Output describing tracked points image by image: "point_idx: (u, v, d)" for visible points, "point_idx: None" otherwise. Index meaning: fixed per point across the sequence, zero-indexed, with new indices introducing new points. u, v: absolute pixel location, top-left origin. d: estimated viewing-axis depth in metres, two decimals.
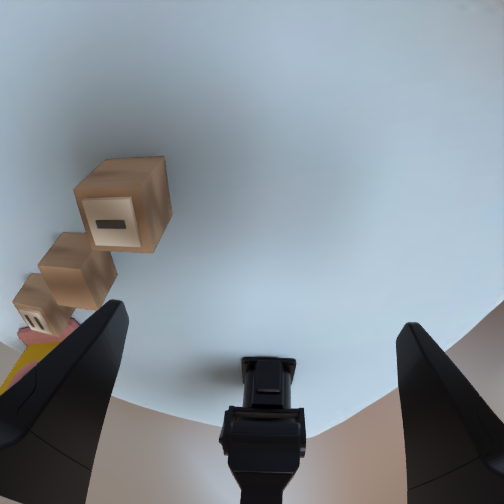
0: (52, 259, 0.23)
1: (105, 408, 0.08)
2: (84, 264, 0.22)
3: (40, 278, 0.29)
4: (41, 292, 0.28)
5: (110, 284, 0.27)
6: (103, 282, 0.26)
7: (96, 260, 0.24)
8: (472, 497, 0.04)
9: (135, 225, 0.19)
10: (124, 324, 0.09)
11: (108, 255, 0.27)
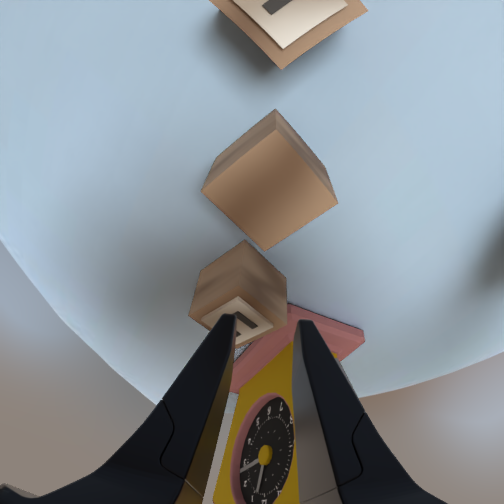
0: (221, 168, 0.16)
1: (219, 430, 0.08)
2: (278, 127, 0.14)
3: (216, 264, 0.24)
4: (226, 273, 0.22)
5: (326, 174, 0.18)
6: (317, 166, 0.17)
7: (290, 133, 0.16)
8: None
9: None
10: (235, 339, 0.09)
11: (298, 136, 0.18)
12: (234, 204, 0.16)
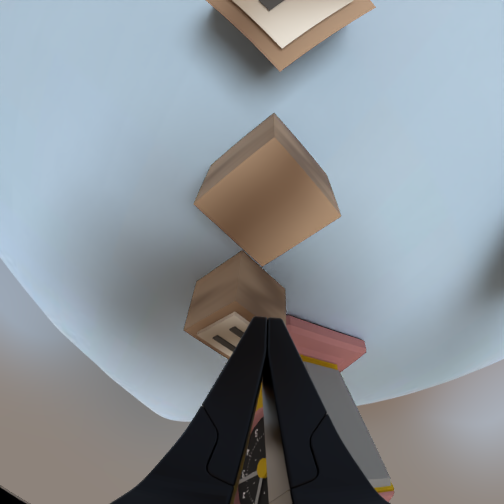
0: (215, 179, 0.15)
1: (250, 433, 0.08)
2: (277, 134, 0.13)
3: (213, 276, 0.23)
4: (223, 286, 0.21)
5: (328, 183, 0.17)
6: (318, 175, 0.16)
7: (289, 140, 0.15)
8: None
9: None
10: None
11: (299, 142, 0.17)
12: (229, 217, 0.15)
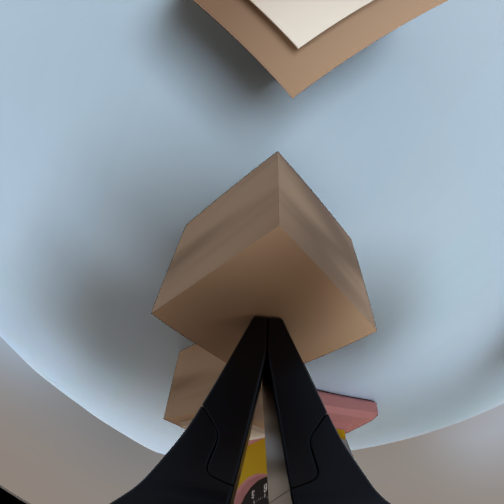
0: (183, 275, 0.09)
1: (250, 433, 0.08)
2: (283, 213, 0.08)
3: (198, 352, 0.18)
4: (209, 374, 0.15)
5: (355, 261, 0.11)
6: (345, 258, 0.10)
7: (303, 206, 0.09)
8: None
9: None
10: None
11: (315, 198, 0.11)
12: (207, 333, 0.09)
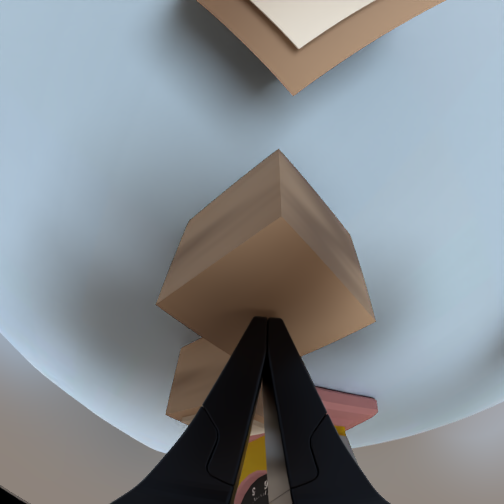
0: (187, 266, 0.09)
1: (250, 433, 0.08)
2: (285, 205, 0.08)
3: (199, 348, 0.18)
4: (211, 369, 0.16)
5: (354, 255, 0.12)
6: (344, 252, 0.11)
7: (303, 200, 0.10)
8: None
9: None
10: None
11: (314, 194, 0.12)
12: (210, 323, 0.10)
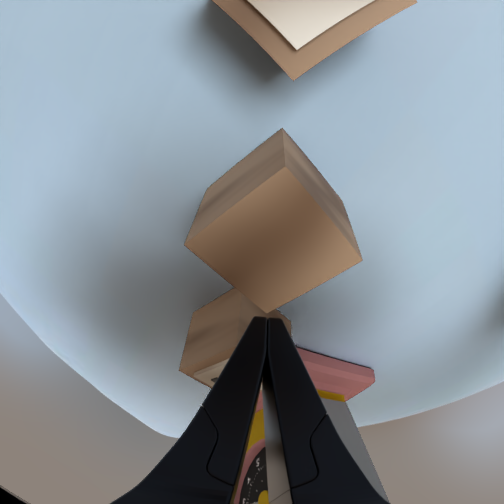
0: (210, 213, 0.12)
1: (250, 433, 0.08)
2: (287, 161, 0.10)
3: (211, 309, 0.20)
4: (222, 324, 0.18)
5: (345, 214, 0.14)
6: (335, 207, 0.13)
7: (301, 164, 0.12)
8: None
9: None
10: None
11: (311, 164, 0.14)
12: (228, 261, 0.12)
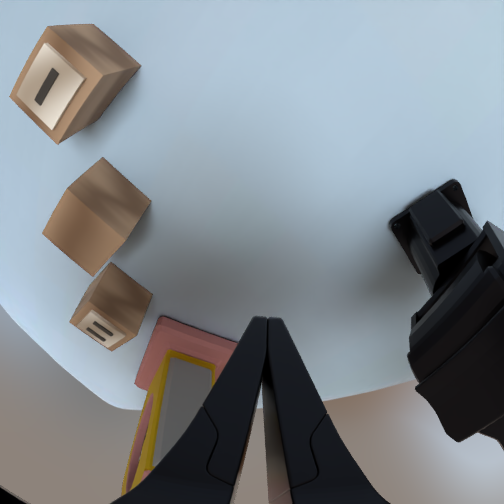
0: None
1: (250, 433, 0.08)
2: (75, 184, 0.16)
3: (94, 281, 0.26)
4: (92, 289, 0.24)
5: (140, 210, 0.20)
6: (123, 206, 0.19)
7: (98, 182, 0.18)
8: None
9: (64, 61, 0.11)
10: None
11: (121, 178, 0.20)
12: (62, 242, 0.18)
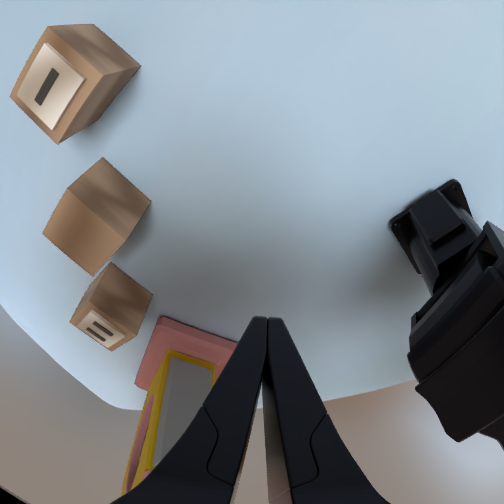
0: None
1: (250, 433, 0.08)
2: (75, 184, 0.16)
3: (94, 281, 0.26)
4: (92, 290, 0.24)
5: (140, 210, 0.20)
6: (123, 207, 0.19)
7: (98, 182, 0.18)
8: None
9: (64, 61, 0.11)
10: None
11: (121, 178, 0.20)
12: (62, 242, 0.18)
